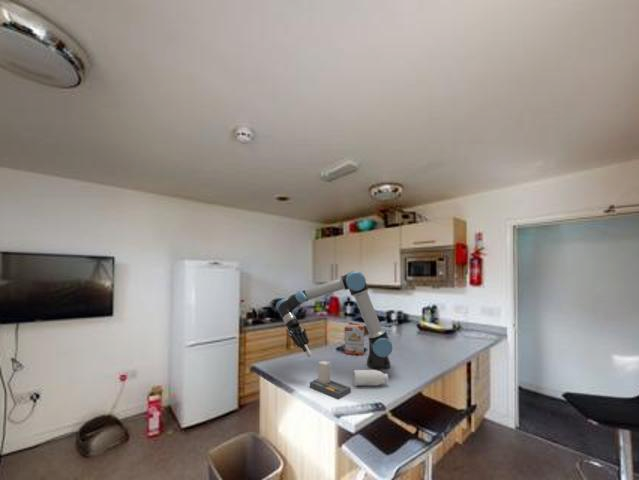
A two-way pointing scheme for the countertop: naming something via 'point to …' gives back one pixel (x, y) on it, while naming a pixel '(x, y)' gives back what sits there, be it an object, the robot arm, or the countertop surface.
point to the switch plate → (331, 388)
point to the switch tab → (324, 372)
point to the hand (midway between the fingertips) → (309, 355)
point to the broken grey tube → (369, 377)
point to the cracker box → (354, 339)
